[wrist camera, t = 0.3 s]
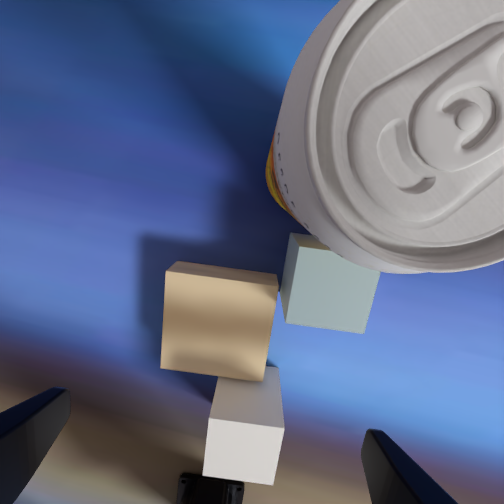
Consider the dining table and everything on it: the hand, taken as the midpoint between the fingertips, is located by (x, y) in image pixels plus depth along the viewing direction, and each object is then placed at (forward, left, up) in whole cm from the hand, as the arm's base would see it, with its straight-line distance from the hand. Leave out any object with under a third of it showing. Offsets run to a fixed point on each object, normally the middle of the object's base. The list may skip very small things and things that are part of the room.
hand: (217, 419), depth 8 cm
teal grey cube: (+1, -6, -14) cm, 15 cm away
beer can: (+8, -4, -14) cm, 16 cm away
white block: (-11, -2, -14) cm, 17 cm away
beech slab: (-4, +1, -14) cm, 14 cm away
